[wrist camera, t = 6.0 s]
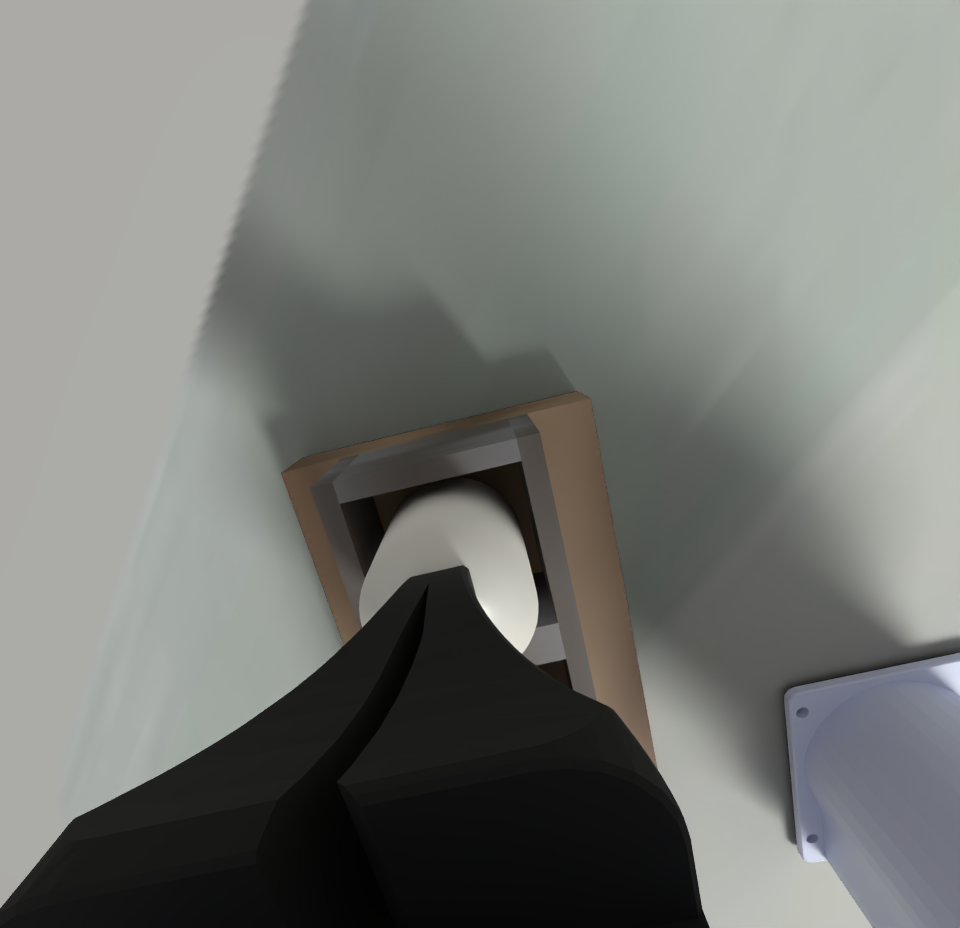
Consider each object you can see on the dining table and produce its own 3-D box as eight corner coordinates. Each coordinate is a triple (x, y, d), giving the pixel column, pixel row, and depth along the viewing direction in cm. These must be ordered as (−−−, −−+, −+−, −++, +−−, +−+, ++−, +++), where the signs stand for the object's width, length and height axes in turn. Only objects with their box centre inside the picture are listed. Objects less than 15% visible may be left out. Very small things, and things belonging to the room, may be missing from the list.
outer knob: (534, 584, 15) (554, 667, 11) (409, 612, 15) (388, 702, 11) (505, 463, 14) (517, 509, 10) (372, 494, 14) (335, 551, 10)
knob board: (576, 391, 17) (619, 413, 12) (650, 786, 21) (703, 919, 16) (302, 457, 17) (235, 505, 12) (433, 830, 22) (421, 971, 17)
